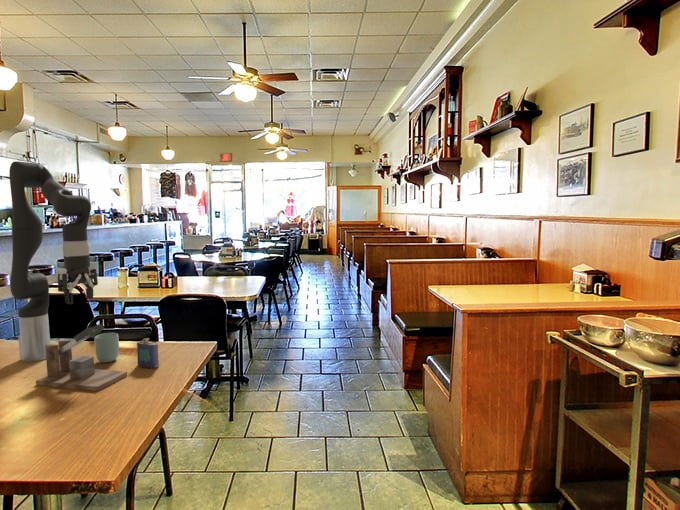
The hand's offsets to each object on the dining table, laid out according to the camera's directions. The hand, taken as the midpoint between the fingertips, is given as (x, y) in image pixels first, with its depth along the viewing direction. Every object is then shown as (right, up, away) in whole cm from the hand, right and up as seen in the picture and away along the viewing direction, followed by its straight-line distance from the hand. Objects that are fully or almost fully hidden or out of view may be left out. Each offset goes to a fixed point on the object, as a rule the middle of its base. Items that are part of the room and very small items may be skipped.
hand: (79, 301), depth 144 cm
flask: (+19, -25, +10) cm, 33 cm away
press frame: (+3, -27, -3) cm, 27 cm away
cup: (+1, -25, +16) cm, 30 cm away
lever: (+1, -14, -4) cm, 14 cm away
